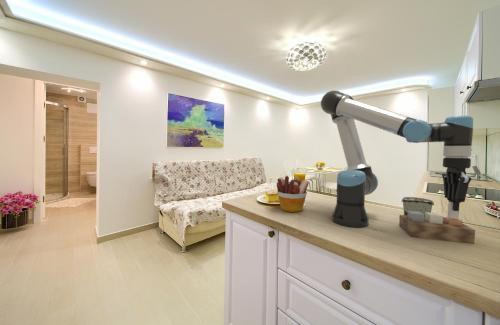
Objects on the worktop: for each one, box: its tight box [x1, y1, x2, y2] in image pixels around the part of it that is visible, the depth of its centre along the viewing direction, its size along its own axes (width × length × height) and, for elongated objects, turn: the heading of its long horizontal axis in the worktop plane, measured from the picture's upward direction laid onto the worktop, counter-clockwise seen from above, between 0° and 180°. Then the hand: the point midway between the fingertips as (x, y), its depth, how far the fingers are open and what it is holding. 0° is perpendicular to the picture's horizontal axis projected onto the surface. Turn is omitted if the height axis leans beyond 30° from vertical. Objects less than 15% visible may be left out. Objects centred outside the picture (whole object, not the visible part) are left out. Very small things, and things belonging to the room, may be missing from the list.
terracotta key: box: [443, 216, 464, 226], centre depth 80 cm, size 4×4×4 cm
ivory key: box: [425, 212, 444, 224], centre depth 82 cm, size 4×4×4 cm
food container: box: [401, 196, 435, 217], centre depth 101 cm, size 12×6×10 cm, turn 65°
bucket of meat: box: [276, 175, 310, 213], centre depth 115 cm, size 20×16×20 cm
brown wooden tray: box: [398, 214, 476, 244], centre depth 82 cm, size 19×12×5 cm, turn 72°
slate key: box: [408, 211, 424, 222], centre depth 84 cm, size 4×4×4 cm
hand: (452, 218), depth 80 cm, fingers closed
